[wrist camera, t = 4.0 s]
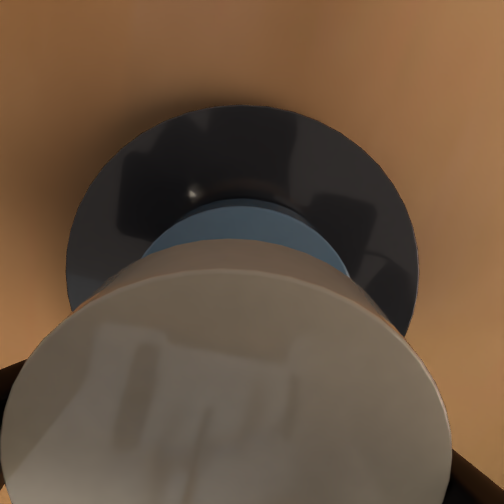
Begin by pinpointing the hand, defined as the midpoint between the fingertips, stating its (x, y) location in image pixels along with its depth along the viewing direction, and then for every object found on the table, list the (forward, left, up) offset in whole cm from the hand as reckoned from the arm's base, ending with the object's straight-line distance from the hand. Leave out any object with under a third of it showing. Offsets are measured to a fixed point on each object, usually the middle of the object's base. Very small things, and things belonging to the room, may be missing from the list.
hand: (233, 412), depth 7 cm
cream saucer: (0, 0, -1) cm, 1 cm away
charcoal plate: (0, 0, -7) cm, 7 cm away
